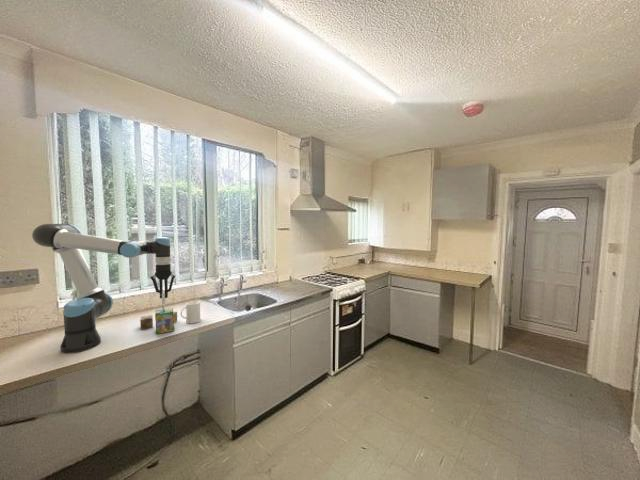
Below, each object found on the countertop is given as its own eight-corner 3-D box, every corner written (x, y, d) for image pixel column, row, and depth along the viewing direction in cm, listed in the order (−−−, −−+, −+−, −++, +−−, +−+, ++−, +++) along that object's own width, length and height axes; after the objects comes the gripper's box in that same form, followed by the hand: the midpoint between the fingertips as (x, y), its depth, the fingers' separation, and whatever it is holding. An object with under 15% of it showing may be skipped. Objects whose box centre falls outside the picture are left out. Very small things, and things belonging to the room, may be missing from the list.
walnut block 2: (162, 324, 162) (162, 314, 162) (167, 321, 168) (167, 311, 168) (173, 324, 163) (172, 314, 162) (177, 320, 169) (176, 311, 168)
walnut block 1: (140, 329, 154) (140, 319, 153) (141, 326, 159) (140, 316, 159) (152, 327, 157) (152, 317, 157) (152, 324, 162) (152, 314, 162)
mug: (182, 326, 160) (182, 306, 159) (178, 322, 166) (178, 303, 165) (202, 321, 168) (202, 302, 167) (198, 317, 174) (197, 300, 173)
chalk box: (174, 331, 152) (173, 306, 151) (155, 334, 148) (154, 308, 147) (173, 325, 160) (173, 302, 159) (156, 328, 155) (155, 304, 155)
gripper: (148, 265, 145) (149, 306, 147) (174, 264, 150) (175, 304, 152) (151, 263, 152) (152, 302, 154) (176, 262, 157) (177, 300, 159)
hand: (163, 303), depth 153 cm, fingers closed
